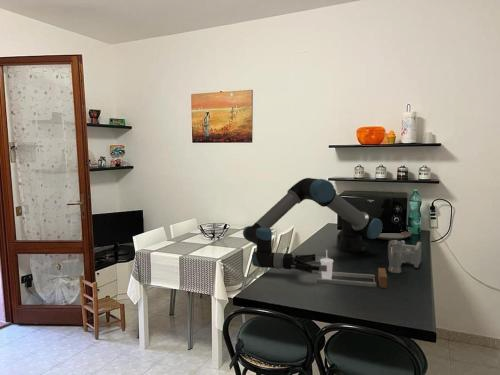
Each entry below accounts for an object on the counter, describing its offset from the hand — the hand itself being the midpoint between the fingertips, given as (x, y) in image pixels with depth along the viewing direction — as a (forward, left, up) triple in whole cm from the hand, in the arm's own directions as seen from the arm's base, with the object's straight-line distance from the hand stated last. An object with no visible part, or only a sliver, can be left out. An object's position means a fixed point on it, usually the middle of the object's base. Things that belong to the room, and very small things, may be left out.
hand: (327, 263), depth 172 cm
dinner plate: (-62, +76, -8) cm, 99 cm away
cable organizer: (-7, +50, -8) cm, 51 cm away
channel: (+5, +9, -7) cm, 13 cm away
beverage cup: (-1, 0, -8) cm, 8 cm away
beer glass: (0, +36, -8) cm, 37 cm away
